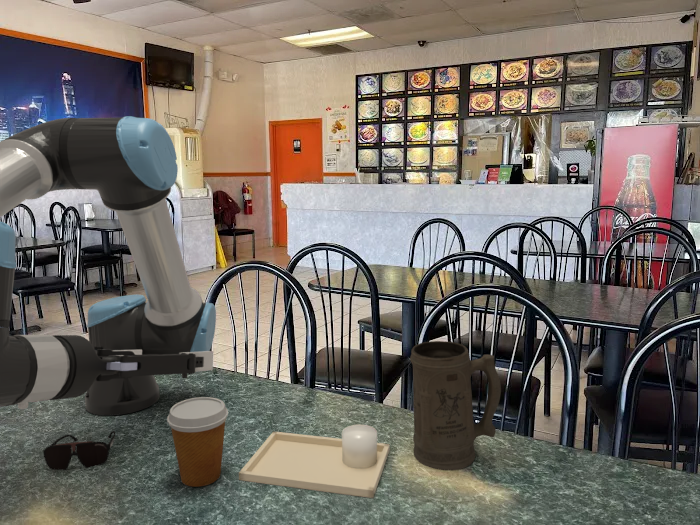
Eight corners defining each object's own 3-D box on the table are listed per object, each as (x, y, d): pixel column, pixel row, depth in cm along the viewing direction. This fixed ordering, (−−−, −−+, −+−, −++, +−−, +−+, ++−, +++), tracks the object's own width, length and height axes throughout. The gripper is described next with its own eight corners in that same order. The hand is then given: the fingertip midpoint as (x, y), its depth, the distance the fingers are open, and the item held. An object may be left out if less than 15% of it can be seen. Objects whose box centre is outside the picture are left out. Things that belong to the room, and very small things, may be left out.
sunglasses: (40, 475, 91) (39, 446, 91) (63, 450, 103) (62, 424, 103) (108, 469, 93) (106, 440, 93) (123, 445, 105) (122, 419, 105)
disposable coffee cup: (215, 495, 85) (212, 422, 83) (159, 489, 87) (154, 417, 85) (239, 464, 94) (237, 398, 92) (188, 459, 96) (185, 394, 94)
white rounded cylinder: (346, 449, 98) (346, 422, 97) (379, 453, 96) (380, 426, 96) (338, 466, 92) (338, 438, 91) (373, 470, 91) (373, 442, 90)
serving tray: (273, 440, 102) (273, 431, 102) (389, 453, 97) (389, 444, 97) (239, 483, 88) (238, 472, 88) (373, 501, 83) (373, 490, 83)
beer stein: (419, 476, 90) (420, 359, 87) (402, 445, 100) (403, 340, 97) (507, 468, 92) (512, 354, 89) (482, 439, 103) (485, 336, 100)
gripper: (-24, 395, 68) (111, 381, 88) (128, 407, 58) (242, 388, 78) (-19, 334, 69) (114, 333, 88) (132, 336, 59) (244, 335, 79)
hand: (174, 359), depth 83 cm, fingers open, 13 cm apart
